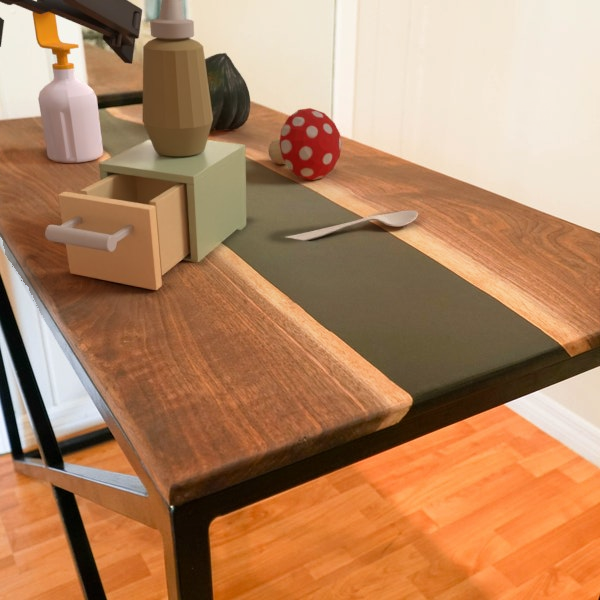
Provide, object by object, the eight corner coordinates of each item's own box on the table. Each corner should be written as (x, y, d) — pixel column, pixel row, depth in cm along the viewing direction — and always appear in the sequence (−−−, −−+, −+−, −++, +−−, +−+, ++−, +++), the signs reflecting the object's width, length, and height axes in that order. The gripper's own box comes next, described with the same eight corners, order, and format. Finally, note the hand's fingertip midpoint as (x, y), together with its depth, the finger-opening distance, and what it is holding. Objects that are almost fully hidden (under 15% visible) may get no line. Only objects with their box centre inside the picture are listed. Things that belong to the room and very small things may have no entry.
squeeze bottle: (210, 141, 82) (204, -19, 74) (217, 159, 75) (211, -14, 67) (144, 143, 81) (130, -20, 72) (145, 162, 74) (129, -16, 65)
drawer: (131, 312, 64) (121, 227, 60) (40, 292, 67) (25, 210, 63) (210, 245, 78) (207, 172, 74) (133, 231, 81) (125, 161, 77)
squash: (146, 102, 124) (190, 43, 116) (187, 92, 136) (230, 38, 128) (196, 160, 125) (244, 105, 117) (233, 144, 137) (278, 93, 129)
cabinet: (198, 268, 75) (193, 176, 70) (109, 251, 78) (98, 163, 73) (246, 225, 86) (245, 144, 81) (167, 212, 90) (161, 133, 85)
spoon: (424, 227, 88) (425, 215, 87) (281, 250, 80) (282, 237, 79) (407, 216, 91) (408, 205, 90) (269, 237, 83) (269, 225, 82)
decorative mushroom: (258, 107, 109) (309, 89, 97) (309, 137, 115) (363, 124, 103) (237, 168, 108) (287, 158, 95) (289, 196, 114) (343, 189, 102)
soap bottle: (75, 167, 106) (51, 0, 94) (36, 158, 110) (8, -3, 98) (114, 154, 113) (97, -3, 101) (76, 146, 117) (55, -6, 105)
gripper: (-239, -38, 46) (-60, 63, 67) (110, 6, 45) (180, 94, 66) (-228, -147, 46) (-51, -11, 67) (125, -105, 45) (190, 19, 66)
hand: (64, 41), depth 66 cm, fingers open, 13 cm apart
